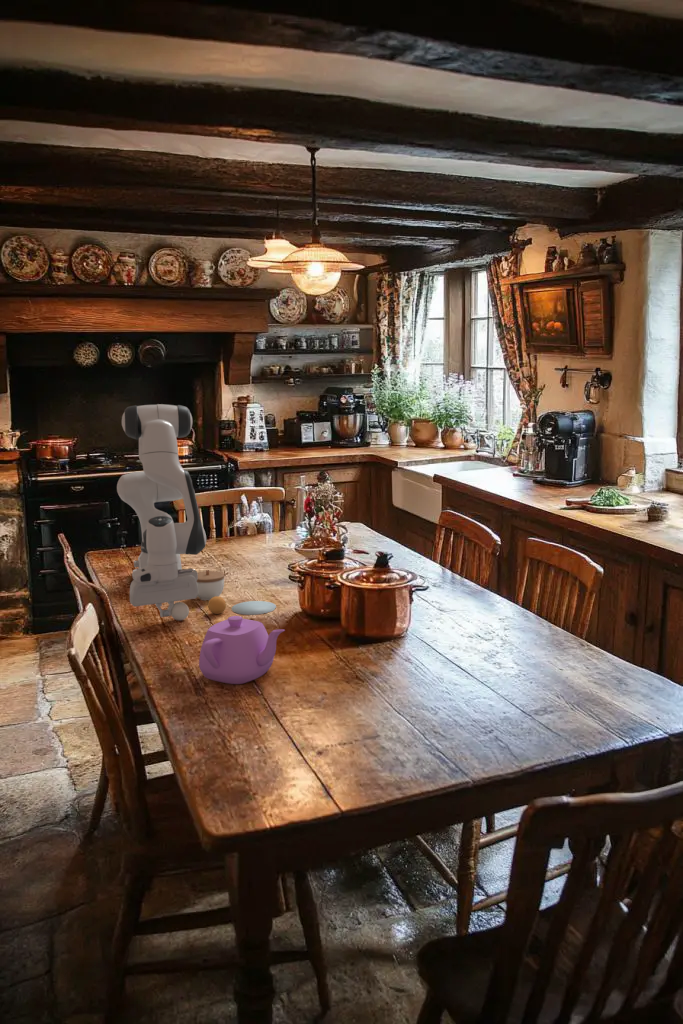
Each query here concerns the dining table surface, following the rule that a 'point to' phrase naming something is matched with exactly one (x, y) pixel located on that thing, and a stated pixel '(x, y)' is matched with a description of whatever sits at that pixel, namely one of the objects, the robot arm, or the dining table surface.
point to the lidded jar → (210, 584)
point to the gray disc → (253, 607)
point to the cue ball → (179, 611)
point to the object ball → (217, 605)
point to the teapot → (237, 650)
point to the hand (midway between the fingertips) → (165, 616)
